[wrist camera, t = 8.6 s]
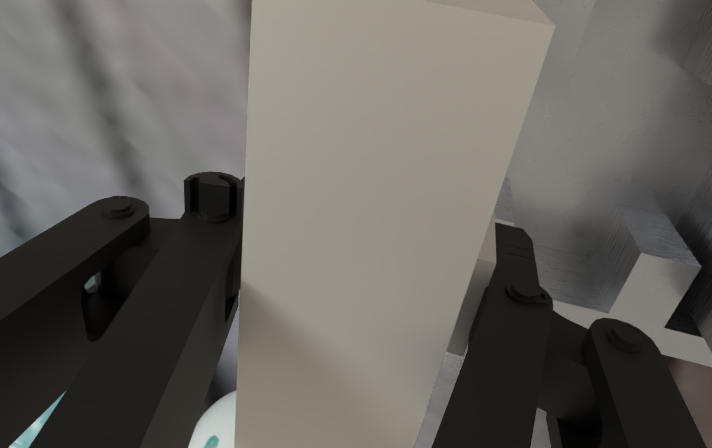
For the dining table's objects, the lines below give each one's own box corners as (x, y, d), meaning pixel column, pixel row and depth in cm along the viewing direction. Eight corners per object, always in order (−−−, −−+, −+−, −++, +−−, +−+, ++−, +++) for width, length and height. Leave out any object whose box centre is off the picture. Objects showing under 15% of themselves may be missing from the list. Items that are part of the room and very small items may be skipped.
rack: (312, 204, 31) (247, 302, 23) (351, -122, 22) (270, -164, 14) (770, 316, 28) (895, 477, 19) (1020, -13, 19) (1442, 18, 11)
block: (327, 284, 20) (232, 487, 13) (377, -43, 14) (253, -32, 7) (423, 310, 20) (383, 536, 12) (517, -17, 14) (556, 26, 6)
